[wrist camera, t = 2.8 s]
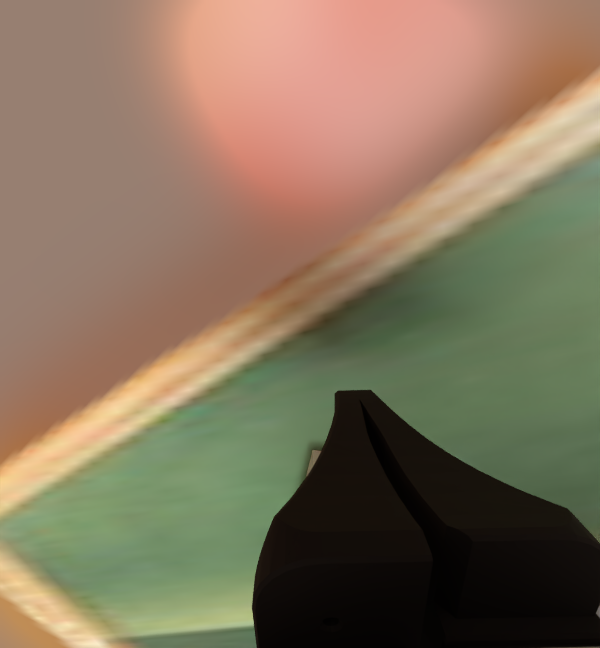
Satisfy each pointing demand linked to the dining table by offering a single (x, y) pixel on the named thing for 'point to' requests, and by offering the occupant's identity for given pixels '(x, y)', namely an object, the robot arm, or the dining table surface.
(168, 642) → the dining table surface
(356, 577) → the robot arm
